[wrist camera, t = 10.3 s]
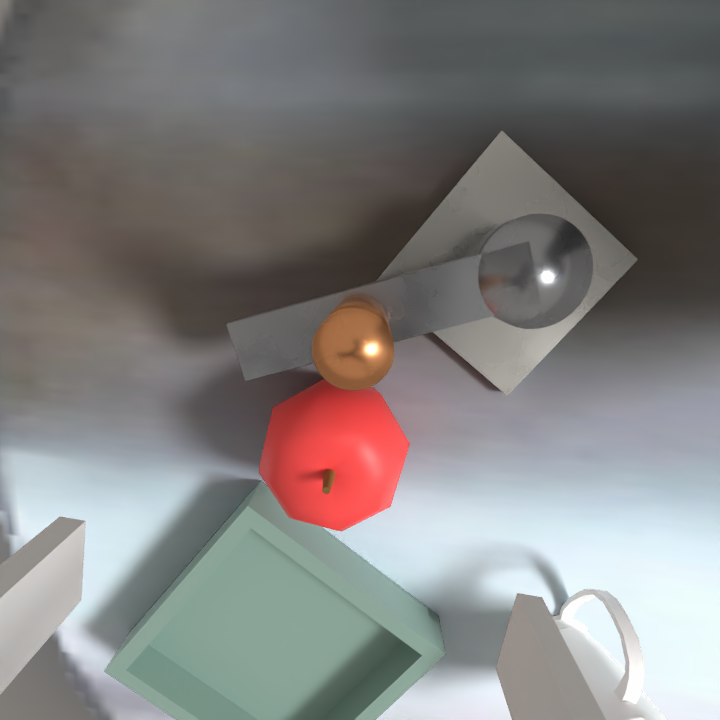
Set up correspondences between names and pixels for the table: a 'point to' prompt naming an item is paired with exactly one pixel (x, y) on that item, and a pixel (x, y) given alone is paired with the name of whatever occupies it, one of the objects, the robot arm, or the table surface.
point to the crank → (423, 304)
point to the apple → (333, 455)
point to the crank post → (473, 221)
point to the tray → (278, 628)
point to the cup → (608, 661)
